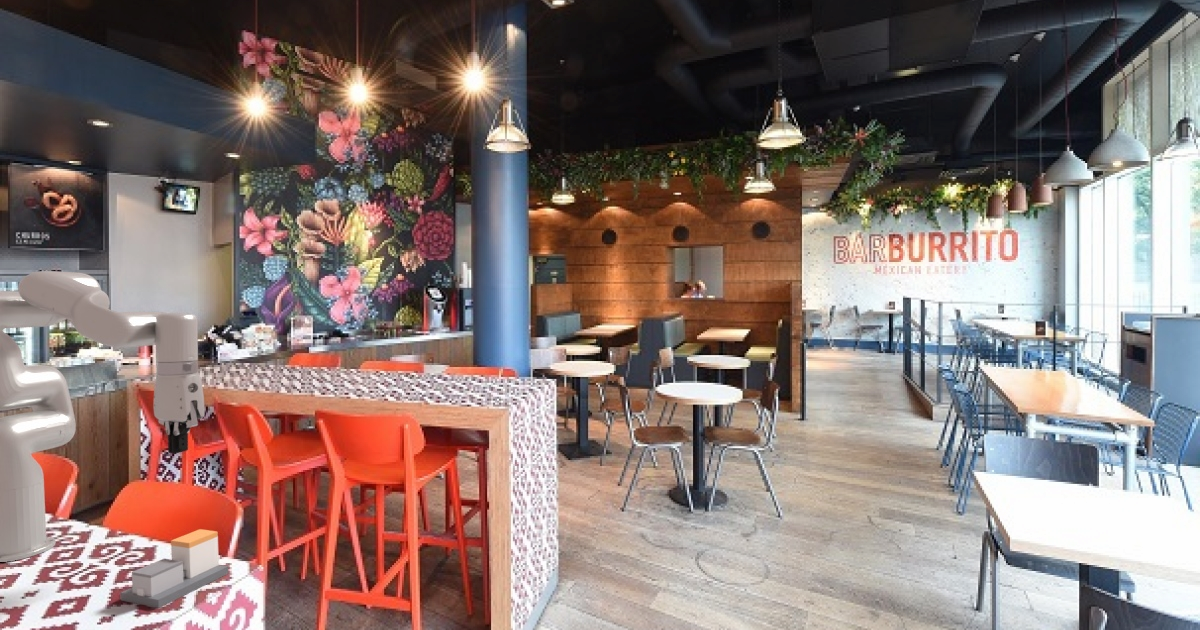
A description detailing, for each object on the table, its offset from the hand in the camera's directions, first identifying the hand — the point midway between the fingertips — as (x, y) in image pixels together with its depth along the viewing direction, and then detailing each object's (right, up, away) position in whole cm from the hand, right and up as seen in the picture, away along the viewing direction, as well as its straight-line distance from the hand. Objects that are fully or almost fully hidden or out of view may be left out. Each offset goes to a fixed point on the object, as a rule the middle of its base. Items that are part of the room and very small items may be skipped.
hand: (178, 451), depth 128 cm
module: (+11, -22, -9) cm, 26 cm away
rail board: (+9, -24, -13) cm, 29 cm away
